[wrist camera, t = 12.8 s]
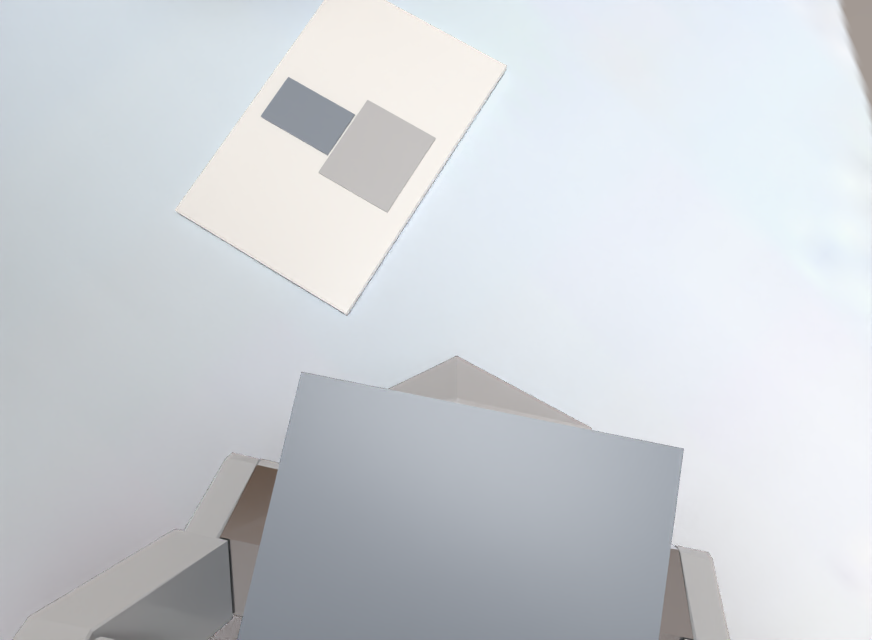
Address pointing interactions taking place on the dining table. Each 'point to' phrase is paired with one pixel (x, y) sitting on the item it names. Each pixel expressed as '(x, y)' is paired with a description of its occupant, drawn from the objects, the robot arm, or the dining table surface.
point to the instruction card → (342, 145)
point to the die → (480, 392)
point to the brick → (458, 525)
